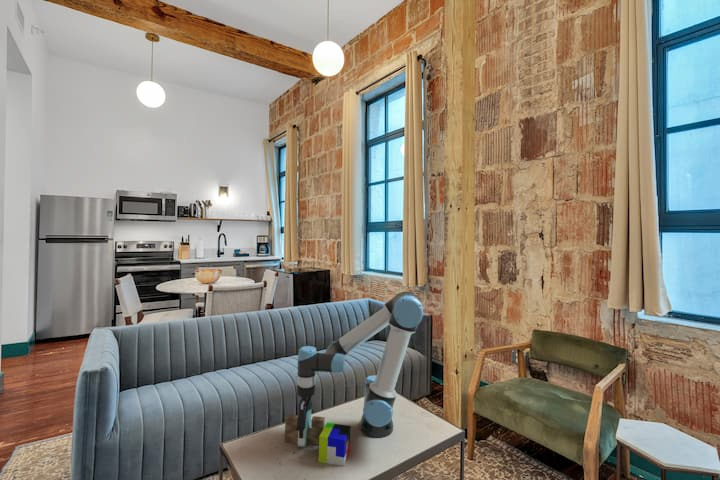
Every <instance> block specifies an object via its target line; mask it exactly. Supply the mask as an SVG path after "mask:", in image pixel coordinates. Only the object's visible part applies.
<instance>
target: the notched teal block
mask: <svg viewBox="0 0 720 480" xmlns="http://www.w3.org/2000/svg"><path fill="white" fill-rule="evenodd" d="M311 420H312V413H311V410H308V411H307V414H306V422H305V445H298V444H297V448H298V447H300V448H306V445H307V429H308V428H311Z"/></svg>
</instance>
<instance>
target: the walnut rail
mask: <svg viewBox="0 0 720 480" xmlns="http://www.w3.org/2000/svg"><path fill="white" fill-rule="evenodd" d="M298 415H299V414H289V413H287V415H286V417H285V418H284V419H285V423H284V442H285V443H293V444H294V443H295V444H298V431H297V430H296V428H297V425H298ZM325 419H326V418H325V416H318V415H317V416H316V415H314V416H313V415H312V416H311V428H308V429H307V443H306V445H307V444H308V445H319V436H320V434H321V432H322V431H323V429H324V427H325Z"/></svg>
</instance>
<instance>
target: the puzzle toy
mask: <svg viewBox="0 0 720 480" xmlns="http://www.w3.org/2000/svg"><path fill="white" fill-rule="evenodd" d="M351 428H352V427H351V425H346V424H339V423H332V422H326V423H325V424H324V429H323V431H322V432H321V434H320V436H319V444H318V463H322V464H323V463H324V464H329V465H334V466H335V465H336V466H342V467H345V464H346V462H347V460H348V456H349V453H350V452H351V451H350V450H351V434H352V433H351V431H352V429H351Z"/></svg>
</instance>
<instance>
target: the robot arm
mask: <svg viewBox="0 0 720 480" xmlns="http://www.w3.org/2000/svg"><path fill="white" fill-rule="evenodd" d="M423 307H424V306H423V305H422V303H421V301H420V300H419V298H418V297H417V296H416V295H415V294H414V293H412V292H410V291H402V292H399V293H397V294H396V295H395V296H394V297H391V299H389V300H388V301H387V302H386V303H385V302H384V305H383V308H381V309H380V310H378V311H377V312H375V313H374V314H372V315H371V316H369V317H368V318H367V319H366V320H365V319H364V321H362V322H361V323H359V324H358V325H357V326H355V327H354V328H352V329H351V330H349V331H348V332H347V333H345V334H344V335H343V336H341V337H340V338H339V339H337V340H335V341H331V342H330V343H329V344H328V346H327V347H326V350H325V352H318V351H317V348H316V347H315V346H310V345H306V346H304V345H303V346H301V347H300V348H298V354H297V355H298V356H297V375H296V377H295V378H296V379H297V380H296V381H297V382H296V383H297V385H296V395H297V396H299V397H300V398H301V399H299V404H298V414H297V415H298V425H297V428H296V430H297V431H298V443H297V446H298V445H305V422H306V414H307V411H308V410H311V414H314V410H313V396H314V395H315V393H316V379H317V378H316V376H317V375H316V372H320V373H333V374H336V373H337V374H339V373H343V372H344V370H345V365H346V364H345V363H346V362H345V361H346V356H347V354H349V353H350V352H352V351H353V350H355V349H356V348H357V347H359V346H360V345H362V344H363V343H365V342H366V341H368V340H370V339H371V338H372V337H373V336H375V335H377V333H379V332H381V331H382V330H384V329H385V328H387V327H388V326H390V330H389V334H388V337H387V340H386V342H385V346H384V349H383V353H382V356H381V359H380V363H379V366H378V370H377V372H376V375H369V376H367V377H366V378H365V382H364V401H363V407H362V408H363V409H362V412H363V413H362V416H361V418H360V422H359V429H360V431H361V432H362V433H363V434H365V435H367V436H369V437H372V438H384V437H387V436H390V435H391V434H393V431H394V421H393V416H394V415H393V412H394V410H393V409H394V405H395V401H396V399H397V394H398V393H397V391H396V389H395V388H396V385H397V382H398V378H399V375H400V373H401V369H402V365H403V362H404V358H405V355H406V352H407V348H408V347H409V344H410V343H409V342H410V339H411V336H412V335H413V334H415V333H416V332H417V329H418V326H419V324H420V323H421V322H422V319H423V316H424V308H423Z"/></svg>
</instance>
